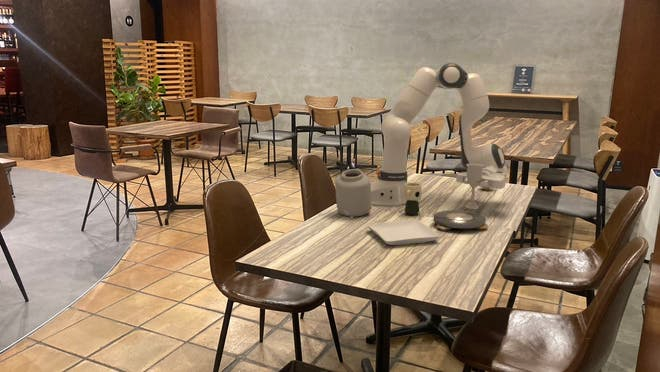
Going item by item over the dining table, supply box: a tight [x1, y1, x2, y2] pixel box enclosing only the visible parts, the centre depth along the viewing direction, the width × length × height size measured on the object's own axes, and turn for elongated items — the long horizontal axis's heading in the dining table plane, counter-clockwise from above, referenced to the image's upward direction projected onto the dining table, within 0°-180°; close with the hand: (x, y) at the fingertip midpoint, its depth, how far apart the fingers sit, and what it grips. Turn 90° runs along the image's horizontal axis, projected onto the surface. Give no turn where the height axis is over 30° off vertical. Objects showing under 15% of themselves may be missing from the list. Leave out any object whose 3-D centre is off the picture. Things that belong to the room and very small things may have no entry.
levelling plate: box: [433, 209, 489, 231], centre depth 219 cm, size 20×21×4 cm
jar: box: [334, 162, 373, 218], centre depth 231 cm, size 19×15×25 cm
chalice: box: [465, 163, 484, 210], centre depth 230 cm, size 7×7×18 cm
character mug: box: [404, 182, 422, 216], centre depth 234 cm, size 11×7×13 cm, turn 149°
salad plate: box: [366, 219, 441, 246], centre depth 205 cm, size 21×21×3 cm
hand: (472, 183), depth 229 cm, fingers closed on chalice, 5 cm apart
